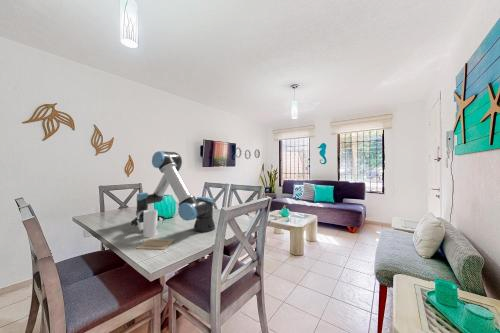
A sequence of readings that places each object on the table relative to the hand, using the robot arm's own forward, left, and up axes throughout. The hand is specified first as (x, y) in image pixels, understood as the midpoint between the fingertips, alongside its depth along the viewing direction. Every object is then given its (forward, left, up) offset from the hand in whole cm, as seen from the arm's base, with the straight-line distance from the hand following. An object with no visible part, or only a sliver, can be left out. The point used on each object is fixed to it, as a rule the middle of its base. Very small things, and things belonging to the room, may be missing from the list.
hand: (151, 223), depth 127 cm
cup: (+2, -2, -9) cm, 9 cm away
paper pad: (-9, +12, -8) cm, 17 cm away
